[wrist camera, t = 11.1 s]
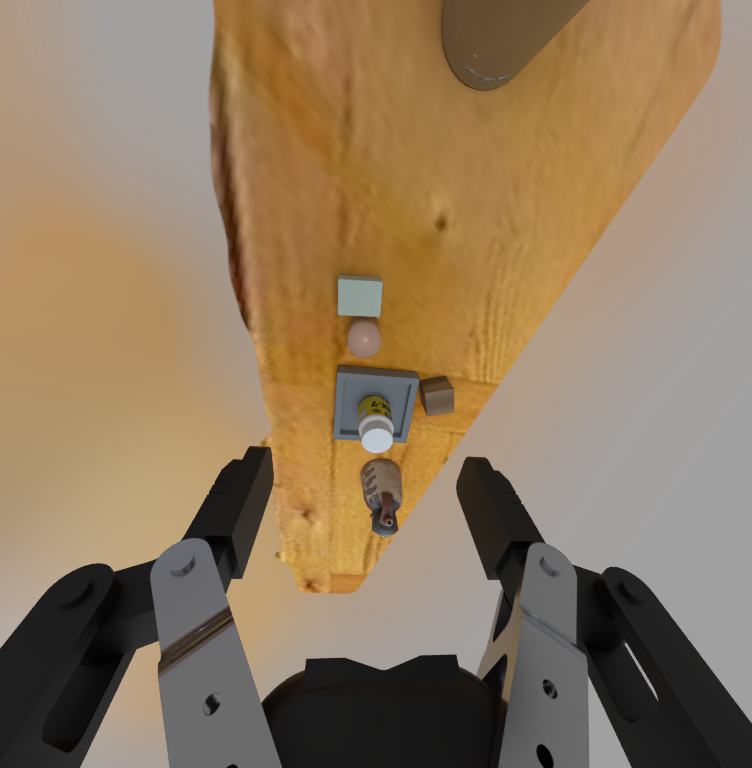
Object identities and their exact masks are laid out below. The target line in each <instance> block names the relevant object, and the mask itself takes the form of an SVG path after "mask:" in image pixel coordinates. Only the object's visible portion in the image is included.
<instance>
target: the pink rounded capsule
mask: <svg viewBox="0 0 752 768" xmlns="http://www.w3.org/2000/svg"><path fill="white" fill-rule="evenodd" d="M380 346H381V339H380V332H379V325H378V322H377V321H376V319H375V318H374V317H370V316H355V317H354V318H353V319H352V321H351V322H350V326H349V334H348V347H349V349H350V351H351V352H352V353H353V354H354V355H356V356H358V357H361V358H368V357H371V356H373V355H375V354H376V353H377V352H378V350H379V349H380Z"/></svg>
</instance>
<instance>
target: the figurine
mask: <svg viewBox="0 0 752 768" xmlns="http://www.w3.org/2000/svg"><path fill="white" fill-rule="evenodd" d="M361 483H362V487H363V494H364V500H365V502H366V504H367V506H368V507H369V508H370V509H371V510H372V514H371V515H370V517H371V518H372V531H373V532H374V533H376V534H379V535H381V536H382V537H390V536H391V535H393V534H395V533H396V532H397V531H398V526H397V518H396V515H395V512H396V511H397V510H398V509H399V508H400V506H401V503H402V482H401V473H400V470H399V468H398V466H397V465H396V464H395V463H394V462H392V461H390V460H387V459H376V460H373V461H370V462H368V463H367V464H366V465H365V466H364V467H363V469H362V472H361Z"/></svg>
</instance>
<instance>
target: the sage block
mask: <svg viewBox="0 0 752 768" xmlns="http://www.w3.org/2000/svg"><path fill="white" fill-rule="evenodd" d="M382 286H383V281H382V280H381V278H380V277H369V276H353V275H340V276H339V278H338V315H350V316H370V317H380V313H381V299H382Z"/></svg>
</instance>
